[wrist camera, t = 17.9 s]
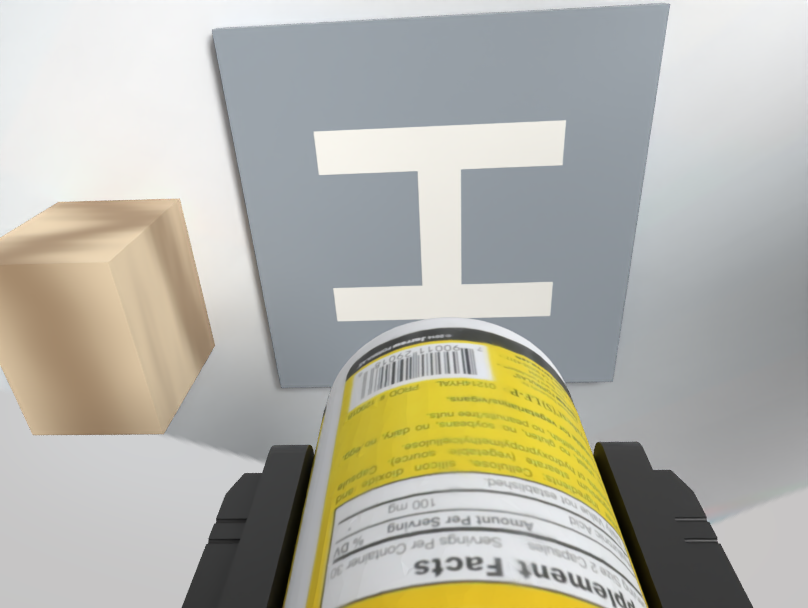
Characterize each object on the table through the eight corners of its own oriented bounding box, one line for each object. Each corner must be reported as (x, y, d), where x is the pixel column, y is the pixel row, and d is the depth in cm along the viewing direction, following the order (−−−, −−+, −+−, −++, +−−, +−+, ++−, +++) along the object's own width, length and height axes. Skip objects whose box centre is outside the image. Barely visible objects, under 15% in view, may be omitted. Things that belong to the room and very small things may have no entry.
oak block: (180, 197, 23) (108, 262, 18) (215, 344, 27) (163, 434, 21) (59, 201, 24) (-46, 265, 18) (109, 346, 27) (32, 435, 22)
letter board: (663, 3, 19) (670, 4, 19) (609, 373, 26) (613, 381, 26) (217, 28, 20) (211, 29, 20) (284, 379, 27) (281, 388, 27)
